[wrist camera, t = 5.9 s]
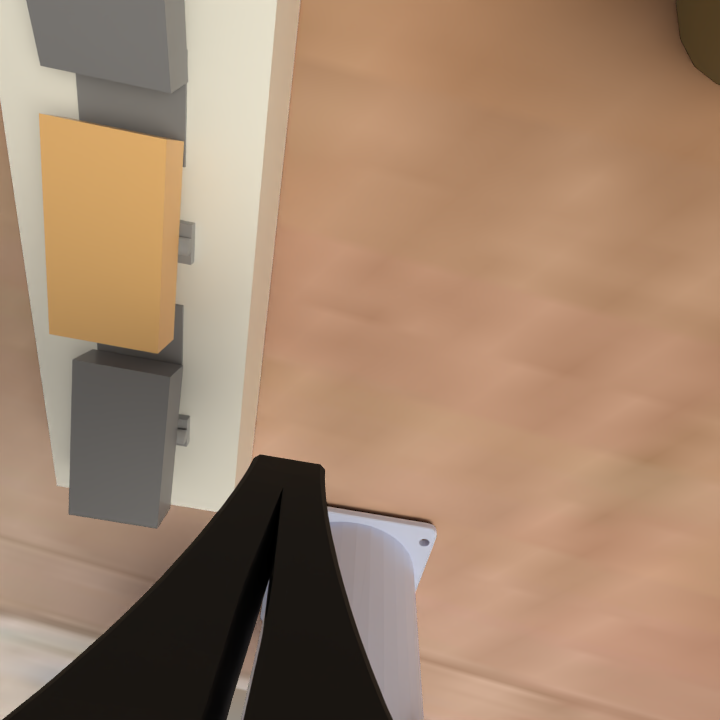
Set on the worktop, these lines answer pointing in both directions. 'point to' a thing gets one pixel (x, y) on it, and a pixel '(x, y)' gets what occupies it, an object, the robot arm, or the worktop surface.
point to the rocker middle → (110, 232)
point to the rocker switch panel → (197, 218)
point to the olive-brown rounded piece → (701, 34)
